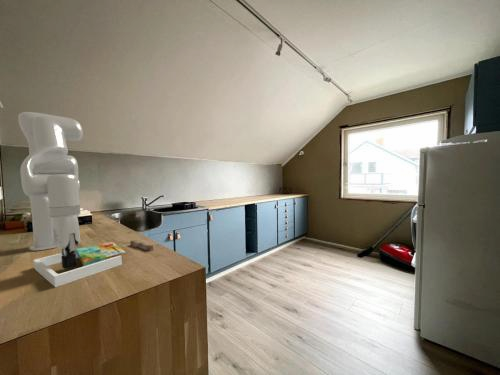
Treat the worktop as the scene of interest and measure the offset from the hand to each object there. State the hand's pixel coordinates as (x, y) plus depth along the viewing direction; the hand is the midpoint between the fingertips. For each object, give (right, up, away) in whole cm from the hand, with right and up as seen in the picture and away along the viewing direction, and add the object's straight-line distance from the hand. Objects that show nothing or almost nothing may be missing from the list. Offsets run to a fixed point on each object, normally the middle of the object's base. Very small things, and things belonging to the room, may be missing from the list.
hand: (69, 266), depth 68 cm
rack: (+2, -1, +2) cm, 3 cm away
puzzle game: (+5, -1, +7) cm, 9 cm away
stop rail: (+13, 0, +20) cm, 24 cm away
